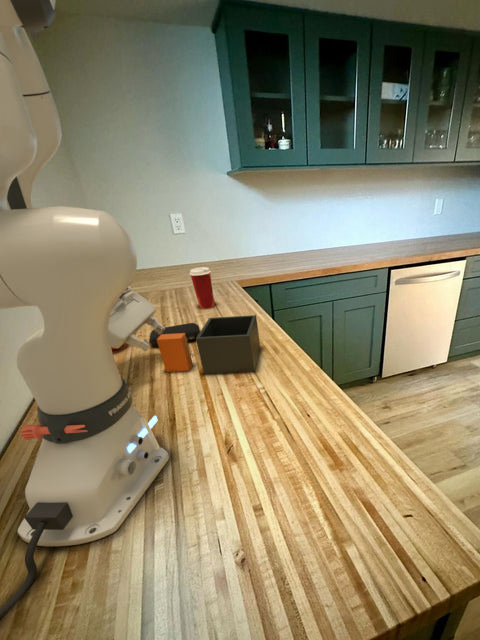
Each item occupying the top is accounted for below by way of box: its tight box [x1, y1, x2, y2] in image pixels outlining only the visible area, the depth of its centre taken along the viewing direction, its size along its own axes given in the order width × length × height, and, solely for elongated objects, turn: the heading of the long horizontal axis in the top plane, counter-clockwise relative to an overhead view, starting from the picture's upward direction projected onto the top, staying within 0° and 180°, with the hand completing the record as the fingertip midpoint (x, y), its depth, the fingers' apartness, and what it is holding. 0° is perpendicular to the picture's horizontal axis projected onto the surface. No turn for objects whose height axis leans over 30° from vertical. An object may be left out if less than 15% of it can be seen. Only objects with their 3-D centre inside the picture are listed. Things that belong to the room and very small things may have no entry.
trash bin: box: [195, 314, 261, 375], centre depth 86 cm, size 14×13×10 cm
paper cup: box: [189, 266, 215, 310], centre depth 126 cm, size 8×8×14 cm
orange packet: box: [157, 333, 194, 373], centre depth 84 cm, size 3×6×9 cm, turn 90°
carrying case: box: [148, 322, 201, 347], centre depth 102 cm, size 11×3×15 cm
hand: (156, 339), depth 82 cm, fingers open, 8 cm apart
